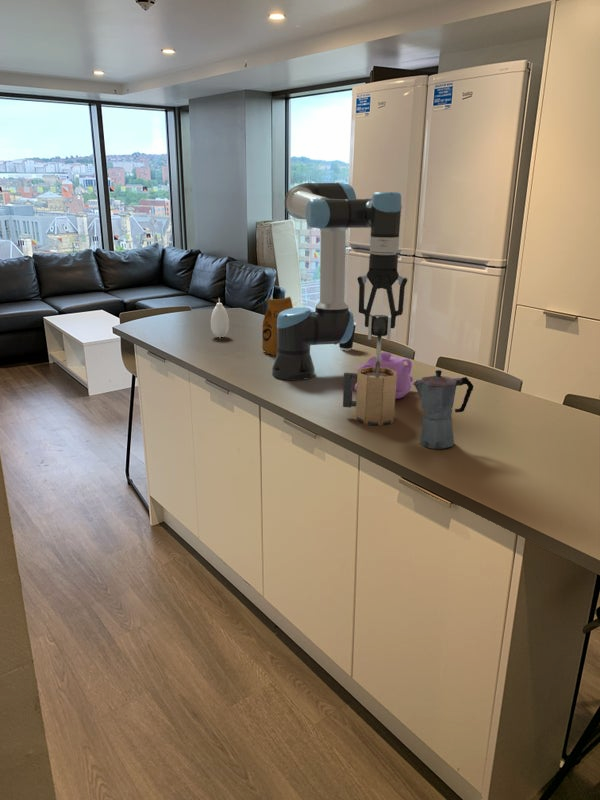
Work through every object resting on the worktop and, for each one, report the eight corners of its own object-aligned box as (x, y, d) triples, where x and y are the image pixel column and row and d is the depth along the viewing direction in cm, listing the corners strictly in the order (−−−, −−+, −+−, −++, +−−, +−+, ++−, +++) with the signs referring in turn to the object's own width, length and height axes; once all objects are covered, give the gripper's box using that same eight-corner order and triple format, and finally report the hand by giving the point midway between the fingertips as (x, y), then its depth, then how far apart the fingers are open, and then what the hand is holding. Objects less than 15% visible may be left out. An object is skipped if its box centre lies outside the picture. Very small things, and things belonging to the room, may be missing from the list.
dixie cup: (346, 346, 256) (347, 320, 252) (359, 349, 250) (360, 323, 247) (332, 348, 251) (333, 322, 248) (345, 352, 246) (346, 326, 242)
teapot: (378, 412, 181) (381, 367, 176) (341, 391, 199) (342, 350, 194) (436, 401, 191) (440, 359, 186) (395, 382, 209) (398, 343, 204)
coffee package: (259, 351, 247) (258, 297, 239) (285, 347, 253) (285, 294, 246) (271, 356, 239) (270, 301, 232) (297, 352, 245) (298, 298, 238)
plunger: (362, 381, 169) (364, 318, 163) (365, 373, 176) (368, 313, 170) (389, 383, 168) (393, 320, 162) (391, 375, 175) (395, 314, 169)
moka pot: (404, 436, 163) (409, 365, 156) (460, 435, 164) (467, 364, 158) (413, 451, 154) (419, 376, 148) (472, 449, 155) (480, 375, 149)
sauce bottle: (232, 337, 269) (231, 296, 263) (221, 340, 263) (220, 299, 257) (219, 334, 273) (217, 295, 267) (207, 338, 267) (206, 297, 261)
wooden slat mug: (339, 422, 173) (341, 375, 168) (345, 409, 183) (347, 364, 178) (392, 427, 170) (395, 379, 165) (395, 413, 180) (398, 368, 175)
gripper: (349, 253, 159) (345, 340, 166) (416, 255, 155) (410, 344, 163) (352, 250, 165) (349, 334, 173) (418, 252, 162) (411, 337, 170)
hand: (379, 338), depth 168 cm, fingers open, 4 cm apart
